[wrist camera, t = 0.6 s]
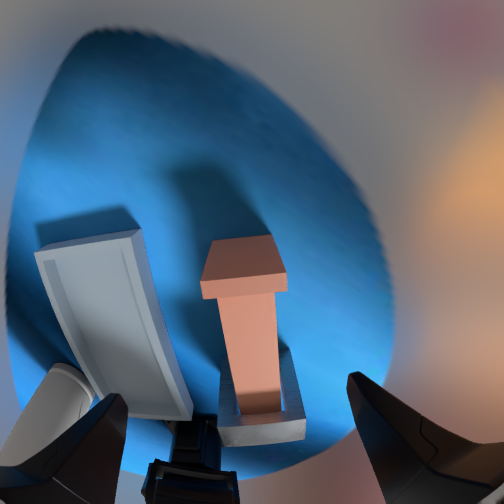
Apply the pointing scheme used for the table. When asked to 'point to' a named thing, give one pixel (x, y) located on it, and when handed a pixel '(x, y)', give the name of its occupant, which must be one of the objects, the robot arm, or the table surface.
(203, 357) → the table surface
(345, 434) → the table surface
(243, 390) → the pink curved block
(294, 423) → the bracket
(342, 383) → the table surface
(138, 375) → the tray
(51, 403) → the travel mug
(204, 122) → the table surface
